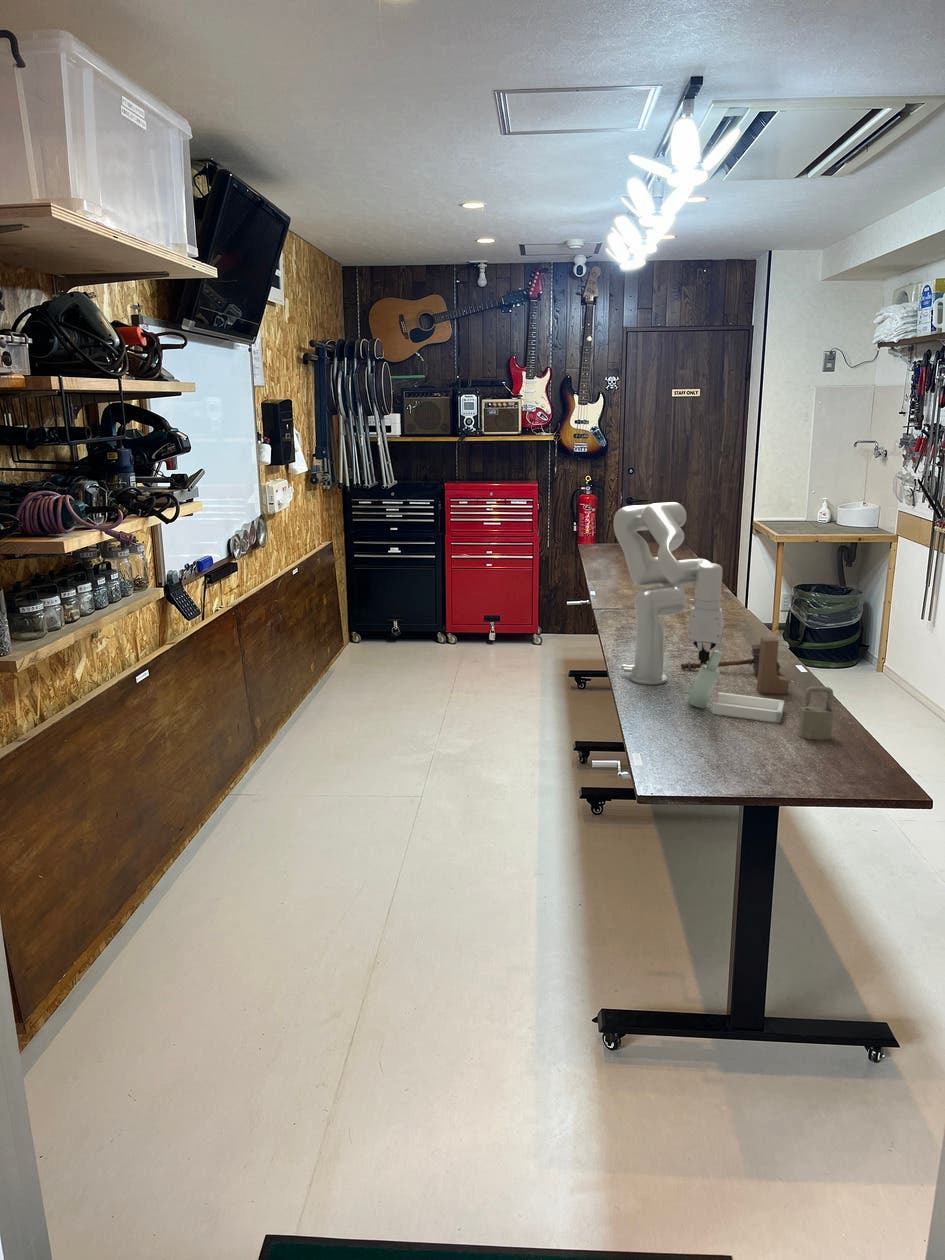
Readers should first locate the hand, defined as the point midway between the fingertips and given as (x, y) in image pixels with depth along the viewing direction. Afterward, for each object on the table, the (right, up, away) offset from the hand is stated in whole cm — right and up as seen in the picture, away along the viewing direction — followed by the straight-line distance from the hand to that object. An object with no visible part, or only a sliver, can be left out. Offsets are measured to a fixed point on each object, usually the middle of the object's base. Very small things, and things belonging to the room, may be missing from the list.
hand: (703, 662), depth 277 cm
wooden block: (+27, -10, +17) cm, 33 cm away
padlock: (+26, -21, -21) cm, 39 cm away
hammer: (+18, -5, +37) cm, 42 cm away
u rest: (+13, -15, -2) cm, 20 cm away
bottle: (-1, -13, +4) cm, 13 cm away
